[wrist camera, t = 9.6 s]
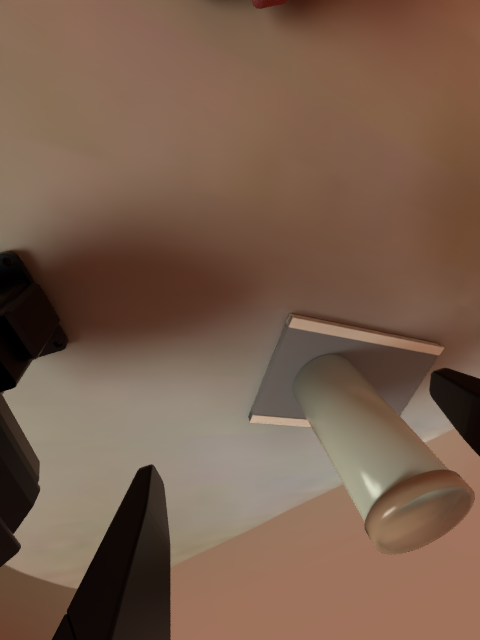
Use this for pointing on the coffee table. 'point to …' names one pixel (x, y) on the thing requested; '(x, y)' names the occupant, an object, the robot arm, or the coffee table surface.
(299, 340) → the mat
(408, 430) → the canister
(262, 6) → the toy fire truck
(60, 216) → the coffee table surface
